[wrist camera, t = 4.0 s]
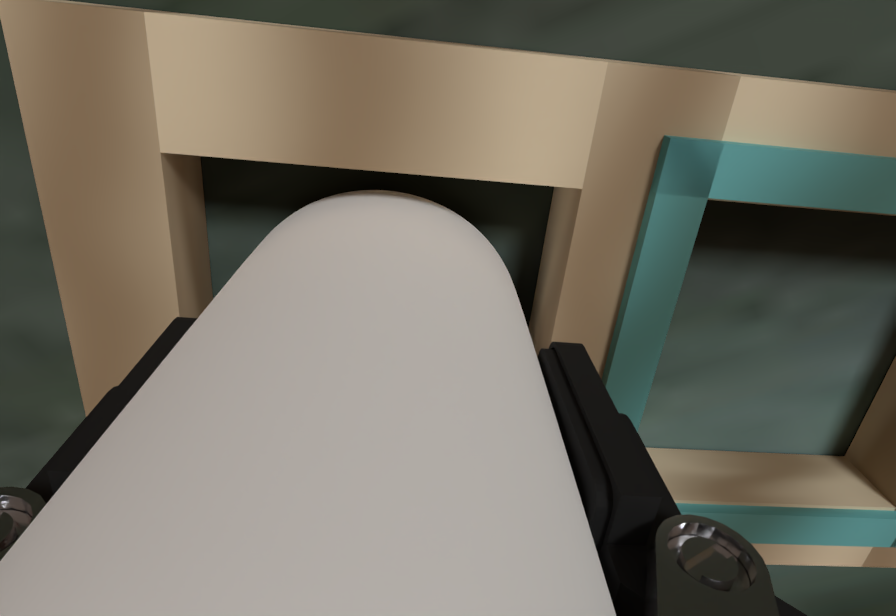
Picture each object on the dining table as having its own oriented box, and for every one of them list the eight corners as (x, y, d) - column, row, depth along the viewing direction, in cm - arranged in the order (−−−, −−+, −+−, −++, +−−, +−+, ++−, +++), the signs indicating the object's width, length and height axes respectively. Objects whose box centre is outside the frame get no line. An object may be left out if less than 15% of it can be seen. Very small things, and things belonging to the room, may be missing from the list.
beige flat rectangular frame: (1113, 114, 13) (1248, 132, 11) (882, 514, 18) (942, 577, 16) (64, 0, 11) (-17, -5, 9) (148, 489, 16) (108, 558, 14)
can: (201, 216, 13) (-1217, 1361, 2) (493, 154, 12) (970, 1203, 1) (294, 446, 15) (-37, 1431, 5) (534, 402, 15) (794, 1387, 4)
